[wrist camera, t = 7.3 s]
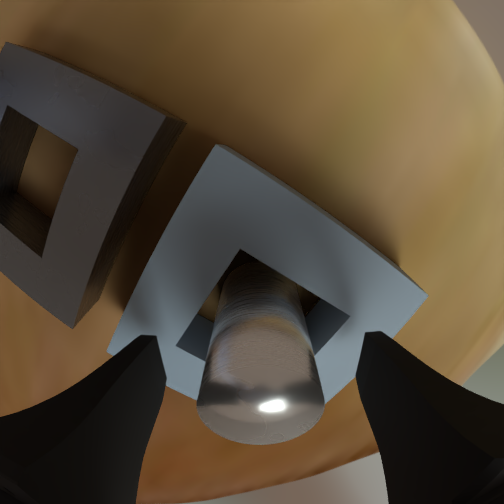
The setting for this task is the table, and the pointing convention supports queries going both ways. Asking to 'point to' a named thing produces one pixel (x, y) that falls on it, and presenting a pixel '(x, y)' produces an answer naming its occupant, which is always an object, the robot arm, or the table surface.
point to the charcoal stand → (73, 176)
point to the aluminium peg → (260, 361)
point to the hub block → (272, 254)
